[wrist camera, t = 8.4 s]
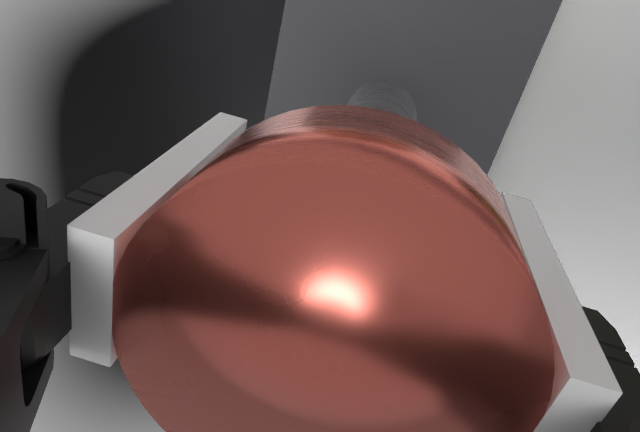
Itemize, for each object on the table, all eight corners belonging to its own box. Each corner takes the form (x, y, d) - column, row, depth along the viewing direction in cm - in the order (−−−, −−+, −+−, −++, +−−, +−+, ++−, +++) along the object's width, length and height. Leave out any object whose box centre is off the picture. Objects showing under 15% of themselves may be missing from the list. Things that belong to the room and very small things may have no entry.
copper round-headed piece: (432, 210, 22) (452, 555, 9) (286, 167, 23) (106, 442, 10) (493, 55, 19) (656, 253, 6) (320, 9, 20) (115, 99, 6)
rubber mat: (567, -21, 25) (571, -21, 24) (466, 213, 32) (468, 218, 31) (305, -90, 26) (302, -91, 25) (260, 153, 33) (257, 157, 32)
